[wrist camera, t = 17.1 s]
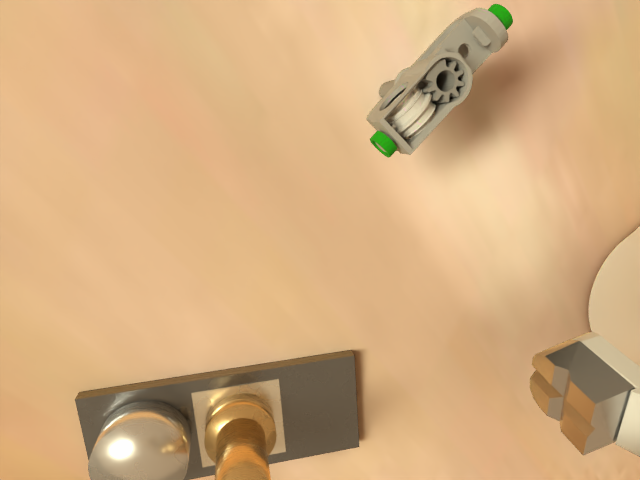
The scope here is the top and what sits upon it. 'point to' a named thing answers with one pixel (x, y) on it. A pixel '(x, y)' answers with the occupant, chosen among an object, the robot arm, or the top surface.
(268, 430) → the gold pawn piece
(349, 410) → the carrier plate
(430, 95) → the mechanical component
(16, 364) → the top surface
